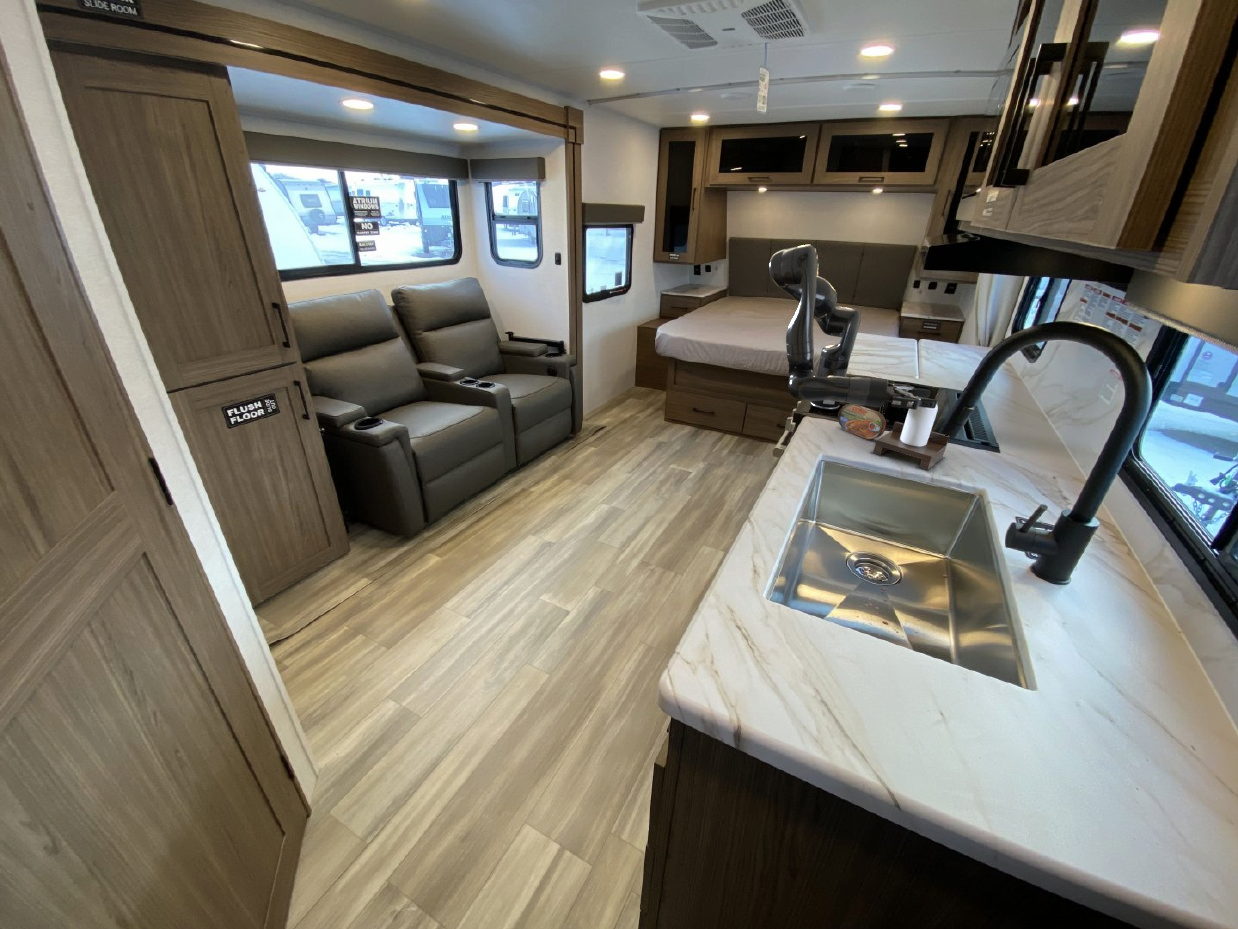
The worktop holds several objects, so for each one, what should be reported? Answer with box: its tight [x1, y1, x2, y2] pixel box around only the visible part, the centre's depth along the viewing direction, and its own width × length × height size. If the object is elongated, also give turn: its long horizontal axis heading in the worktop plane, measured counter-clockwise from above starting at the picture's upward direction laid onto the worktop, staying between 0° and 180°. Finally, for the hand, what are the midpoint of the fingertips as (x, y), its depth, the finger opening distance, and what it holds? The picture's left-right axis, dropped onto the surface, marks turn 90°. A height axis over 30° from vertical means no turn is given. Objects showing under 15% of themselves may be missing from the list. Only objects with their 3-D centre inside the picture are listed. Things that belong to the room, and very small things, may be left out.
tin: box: [837, 403, 887, 440], centre depth 148 cm, size 15×3×8 cm, turn 27°
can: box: [900, 397, 939, 447], centre depth 132 cm, size 6×6×12 cm
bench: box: [872, 421, 951, 471], centre depth 135 cm, size 12×14×6 cm
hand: (932, 398), depth 129 cm, fingers open, 8 cm apart
